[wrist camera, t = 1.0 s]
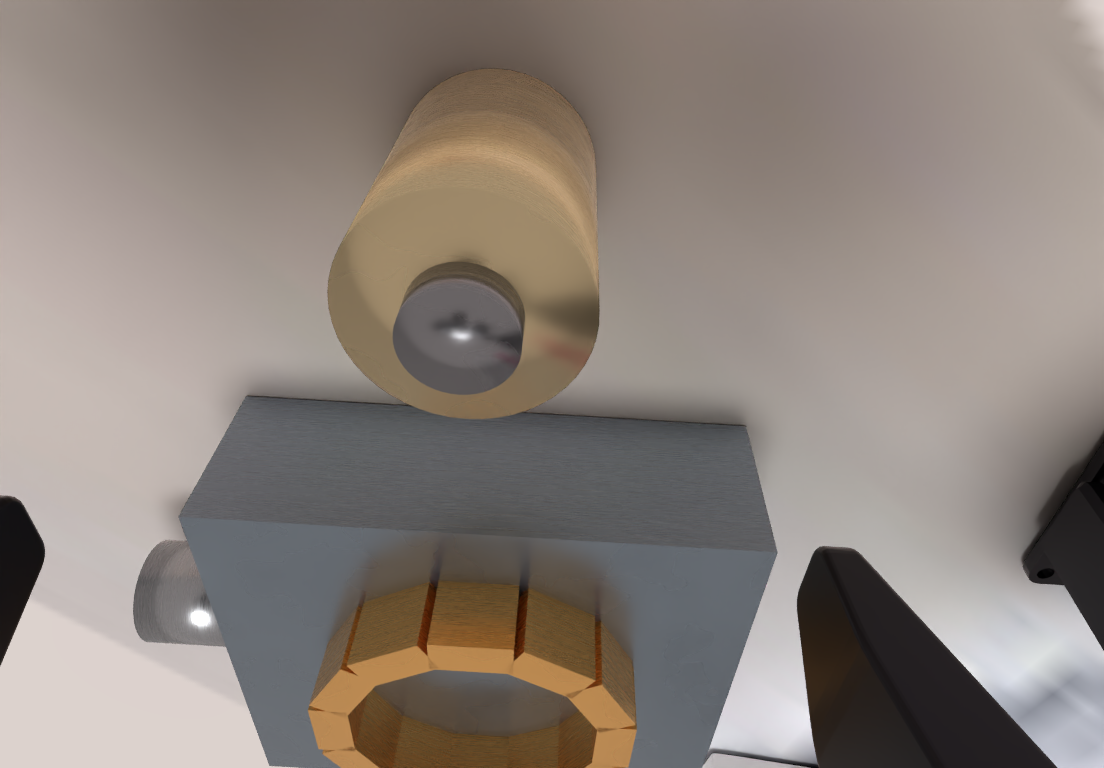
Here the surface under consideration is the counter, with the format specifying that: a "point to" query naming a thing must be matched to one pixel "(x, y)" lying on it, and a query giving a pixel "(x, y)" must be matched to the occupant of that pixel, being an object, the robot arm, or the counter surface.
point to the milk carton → (742, 762)
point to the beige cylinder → (475, 252)
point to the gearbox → (469, 584)
